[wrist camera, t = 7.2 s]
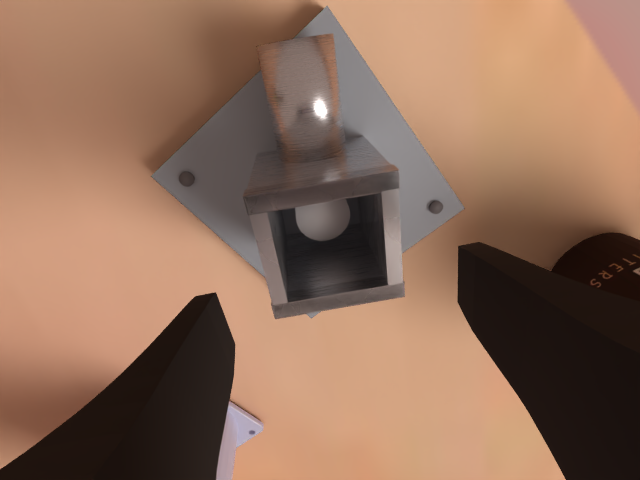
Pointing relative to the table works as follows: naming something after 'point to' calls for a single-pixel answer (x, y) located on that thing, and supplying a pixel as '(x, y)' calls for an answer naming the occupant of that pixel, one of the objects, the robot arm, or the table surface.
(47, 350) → the table surface
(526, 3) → the table surface
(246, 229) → the panel
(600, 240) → the coffee mug
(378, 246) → the elbow
